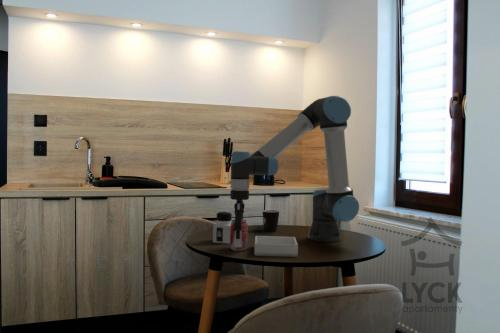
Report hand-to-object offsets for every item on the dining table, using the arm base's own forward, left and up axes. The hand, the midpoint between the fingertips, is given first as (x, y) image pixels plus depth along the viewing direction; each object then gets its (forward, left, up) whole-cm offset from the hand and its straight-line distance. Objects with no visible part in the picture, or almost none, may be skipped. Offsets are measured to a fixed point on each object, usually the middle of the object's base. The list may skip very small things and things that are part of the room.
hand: (238, 244), depth 185 cm
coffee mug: (-14, -48, -3) cm, 50 cm away
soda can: (0, 0, -3) cm, 3 cm away
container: (+7, -16, -3) cm, 18 cm away
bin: (-15, +1, -2) cm, 15 cm away
